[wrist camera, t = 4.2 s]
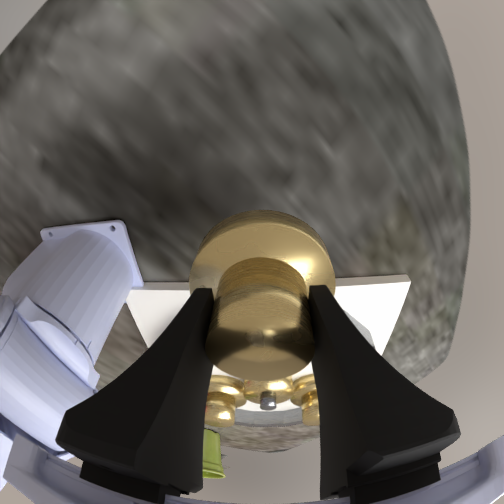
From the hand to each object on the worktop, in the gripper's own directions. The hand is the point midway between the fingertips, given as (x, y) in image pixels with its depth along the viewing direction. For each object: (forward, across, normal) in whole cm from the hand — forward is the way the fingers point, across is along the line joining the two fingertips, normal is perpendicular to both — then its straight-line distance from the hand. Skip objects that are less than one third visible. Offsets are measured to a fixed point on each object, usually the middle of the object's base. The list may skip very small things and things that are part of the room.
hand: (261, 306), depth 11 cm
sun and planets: (+8, 0, +20) cm, 21 cm away
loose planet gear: (+2, 0, 0) cm, 2 cm away
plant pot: (+9, +12, +42) cm, 45 cm away
